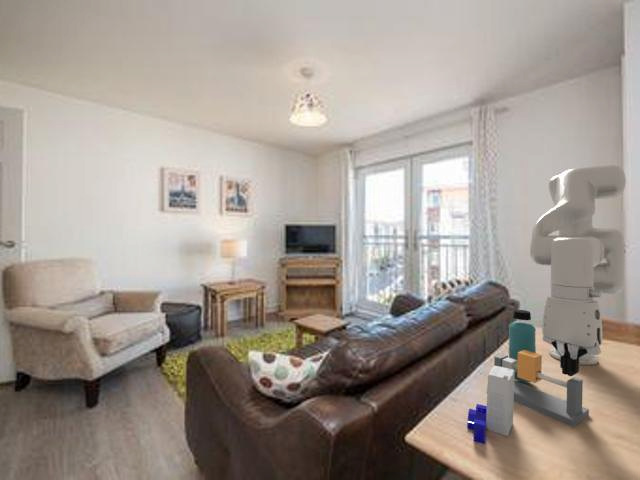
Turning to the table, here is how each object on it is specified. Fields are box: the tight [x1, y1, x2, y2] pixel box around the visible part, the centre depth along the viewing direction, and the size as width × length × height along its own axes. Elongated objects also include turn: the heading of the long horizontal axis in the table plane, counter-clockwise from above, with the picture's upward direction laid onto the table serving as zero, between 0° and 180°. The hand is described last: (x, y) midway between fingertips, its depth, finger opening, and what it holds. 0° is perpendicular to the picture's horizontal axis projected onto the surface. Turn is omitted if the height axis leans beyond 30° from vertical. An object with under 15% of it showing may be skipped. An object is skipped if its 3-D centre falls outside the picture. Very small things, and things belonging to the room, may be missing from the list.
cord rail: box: [493, 353, 590, 428], centre depth 80 cm, size 8×19×9 cm, turn 32°
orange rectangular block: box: [517, 350, 543, 384], centre depth 81 cm, size 3×4×6 cm
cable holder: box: [466, 403, 487, 445], centre depth 69 cm, size 8×4×4 cm, turn 151°
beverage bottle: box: [508, 309, 537, 383], centre depth 90 cm, size 6×7×20 cm
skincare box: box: [486, 365, 515, 437], centre depth 70 cm, size 6×4×12 cm
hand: (569, 373), depth 73 cm, fingers closed
